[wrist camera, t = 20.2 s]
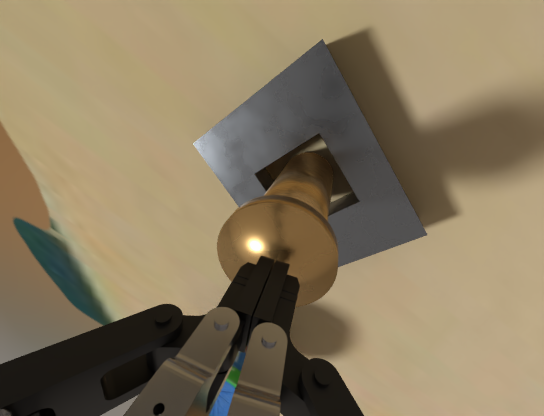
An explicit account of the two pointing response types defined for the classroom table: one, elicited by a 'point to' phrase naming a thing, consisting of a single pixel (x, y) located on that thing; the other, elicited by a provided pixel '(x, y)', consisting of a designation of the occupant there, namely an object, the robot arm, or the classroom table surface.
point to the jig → (339, 139)
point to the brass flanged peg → (288, 228)
